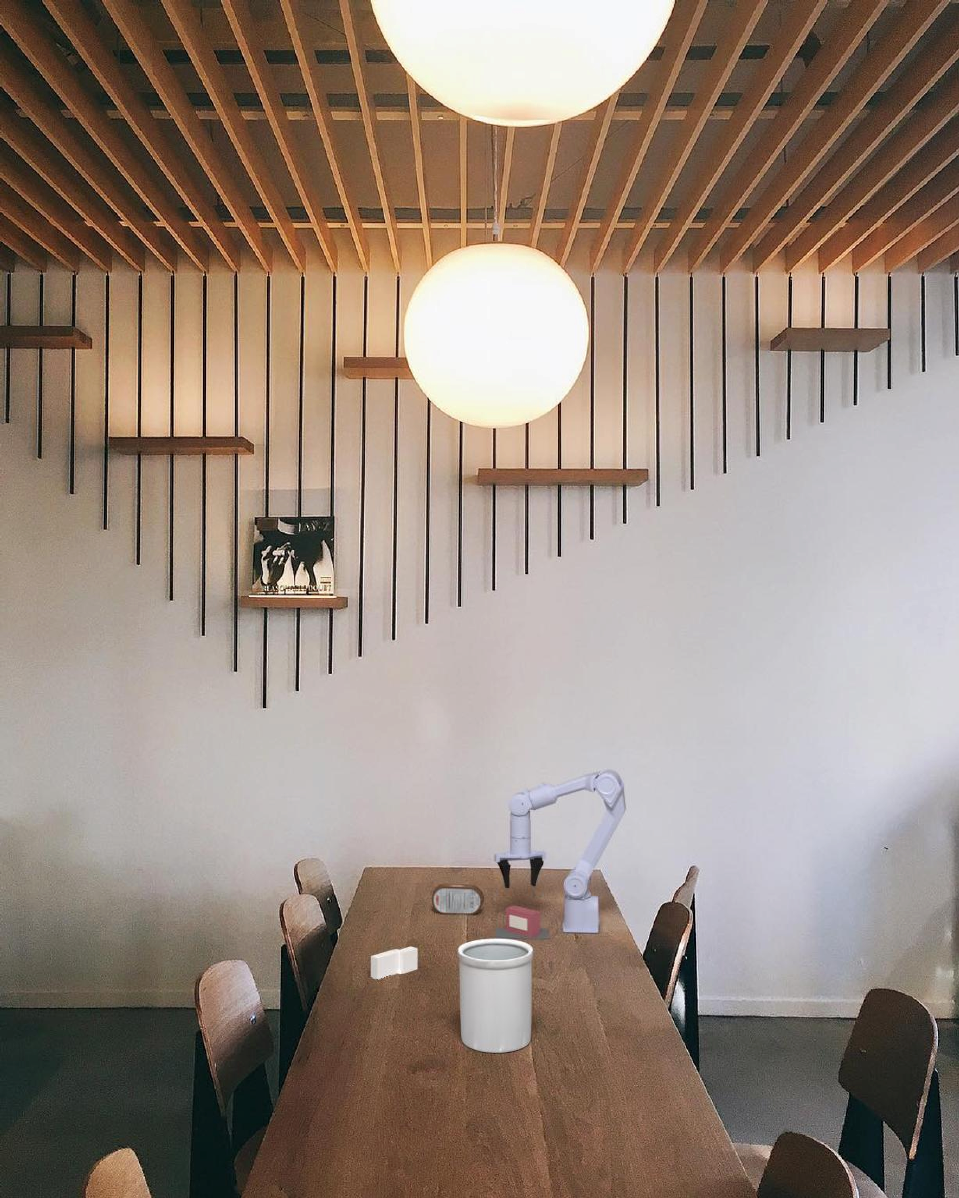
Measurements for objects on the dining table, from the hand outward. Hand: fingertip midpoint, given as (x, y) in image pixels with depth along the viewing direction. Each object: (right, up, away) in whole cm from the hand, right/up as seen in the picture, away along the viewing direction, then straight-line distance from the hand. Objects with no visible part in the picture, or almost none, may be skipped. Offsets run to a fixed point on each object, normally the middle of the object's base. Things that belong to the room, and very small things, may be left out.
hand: (520, 886), depth 269 cm
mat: (0, -10, -9) cm, 13 cm away
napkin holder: (-31, -9, -40) cm, 51 cm away
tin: (-18, -11, +10) cm, 23 cm away
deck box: (0, -10, -9) cm, 13 cm away
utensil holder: (-8, -7, -78) cm, 78 cm away
